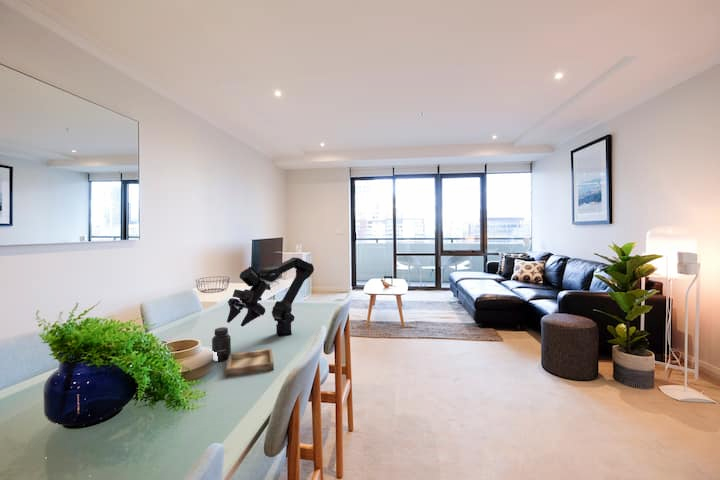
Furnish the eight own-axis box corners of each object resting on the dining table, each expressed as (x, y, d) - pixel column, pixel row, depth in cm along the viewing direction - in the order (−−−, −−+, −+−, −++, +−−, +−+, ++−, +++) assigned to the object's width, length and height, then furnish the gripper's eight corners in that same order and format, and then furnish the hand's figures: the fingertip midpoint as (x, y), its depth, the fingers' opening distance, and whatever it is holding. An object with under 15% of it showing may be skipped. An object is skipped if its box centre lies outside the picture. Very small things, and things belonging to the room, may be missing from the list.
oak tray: (271, 354, 127) (271, 348, 127) (273, 369, 114) (273, 363, 114) (229, 360, 122) (229, 354, 122) (226, 377, 109) (225, 370, 109)
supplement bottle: (219, 364, 119) (218, 333, 119) (208, 360, 123) (207, 330, 122) (234, 357, 125) (233, 327, 124) (224, 353, 129) (223, 325, 128)
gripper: (230, 279, 137) (207, 310, 128) (259, 283, 127) (236, 317, 118) (246, 294, 144) (225, 324, 135) (274, 299, 134) (253, 331, 125)
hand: (234, 324), depth 128 cm, fingers open, 9 cm apart
